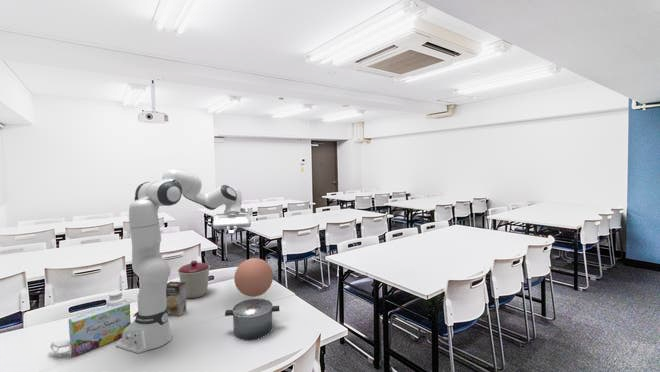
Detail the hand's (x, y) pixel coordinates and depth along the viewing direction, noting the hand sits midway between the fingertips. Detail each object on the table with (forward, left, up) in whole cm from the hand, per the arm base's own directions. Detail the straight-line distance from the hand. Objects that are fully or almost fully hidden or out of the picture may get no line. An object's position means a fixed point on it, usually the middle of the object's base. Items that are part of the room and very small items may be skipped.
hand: (231, 234), depth 167 cm
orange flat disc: (+17, -10, -20) cm, 28 cm away
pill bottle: (-51, -24, -41) cm, 70 cm away
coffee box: (-28, -11, -41) cm, 51 cm away
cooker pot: (+20, -20, -41) cm, 50 cm away
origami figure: (-51, -50, -41) cm, 82 cm away
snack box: (-41, -41, -41) cm, 71 cm away
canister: (-32, +12, -41) cm, 53 cm away
